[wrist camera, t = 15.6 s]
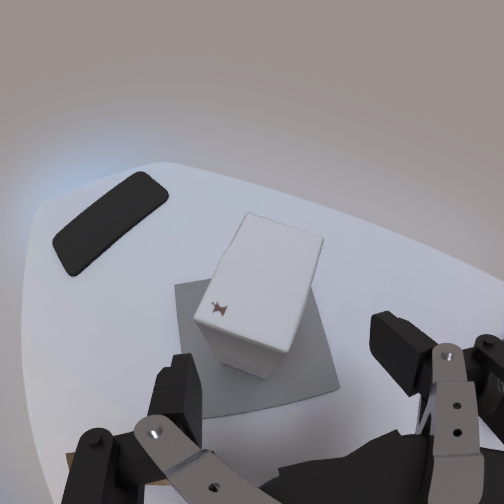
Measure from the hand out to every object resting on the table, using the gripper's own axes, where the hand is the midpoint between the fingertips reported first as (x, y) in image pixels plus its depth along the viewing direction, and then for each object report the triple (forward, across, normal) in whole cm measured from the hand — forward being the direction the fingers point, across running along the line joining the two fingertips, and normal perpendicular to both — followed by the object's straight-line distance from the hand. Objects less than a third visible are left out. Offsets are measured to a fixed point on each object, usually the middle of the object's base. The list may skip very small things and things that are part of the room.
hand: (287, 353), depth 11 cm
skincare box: (+10, +1, +5) cm, 12 cm away
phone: (+22, +15, -6) cm, 27 cm away
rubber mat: (+11, +1, +6) cm, 12 cm away
